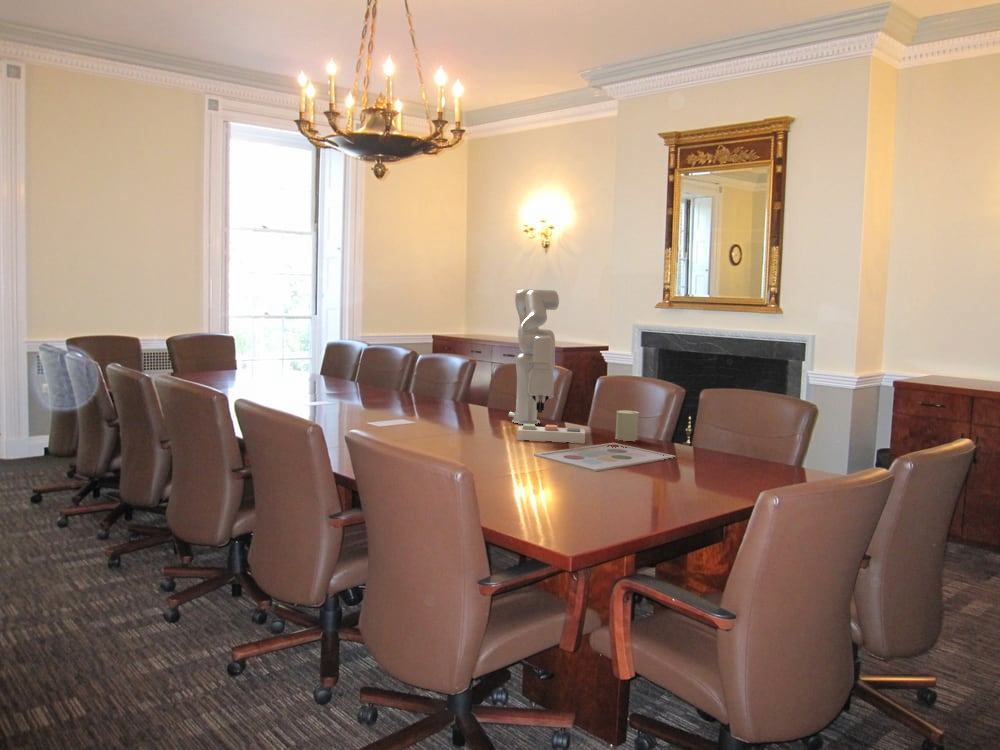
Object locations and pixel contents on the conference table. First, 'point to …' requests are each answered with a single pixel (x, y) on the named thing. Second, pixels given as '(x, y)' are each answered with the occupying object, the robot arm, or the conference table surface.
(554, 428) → the terracotta button
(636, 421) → the can
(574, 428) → the charcoal button
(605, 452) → the dotted sorting mat
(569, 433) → the button strip
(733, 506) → the conference table surface
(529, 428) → the sage button
